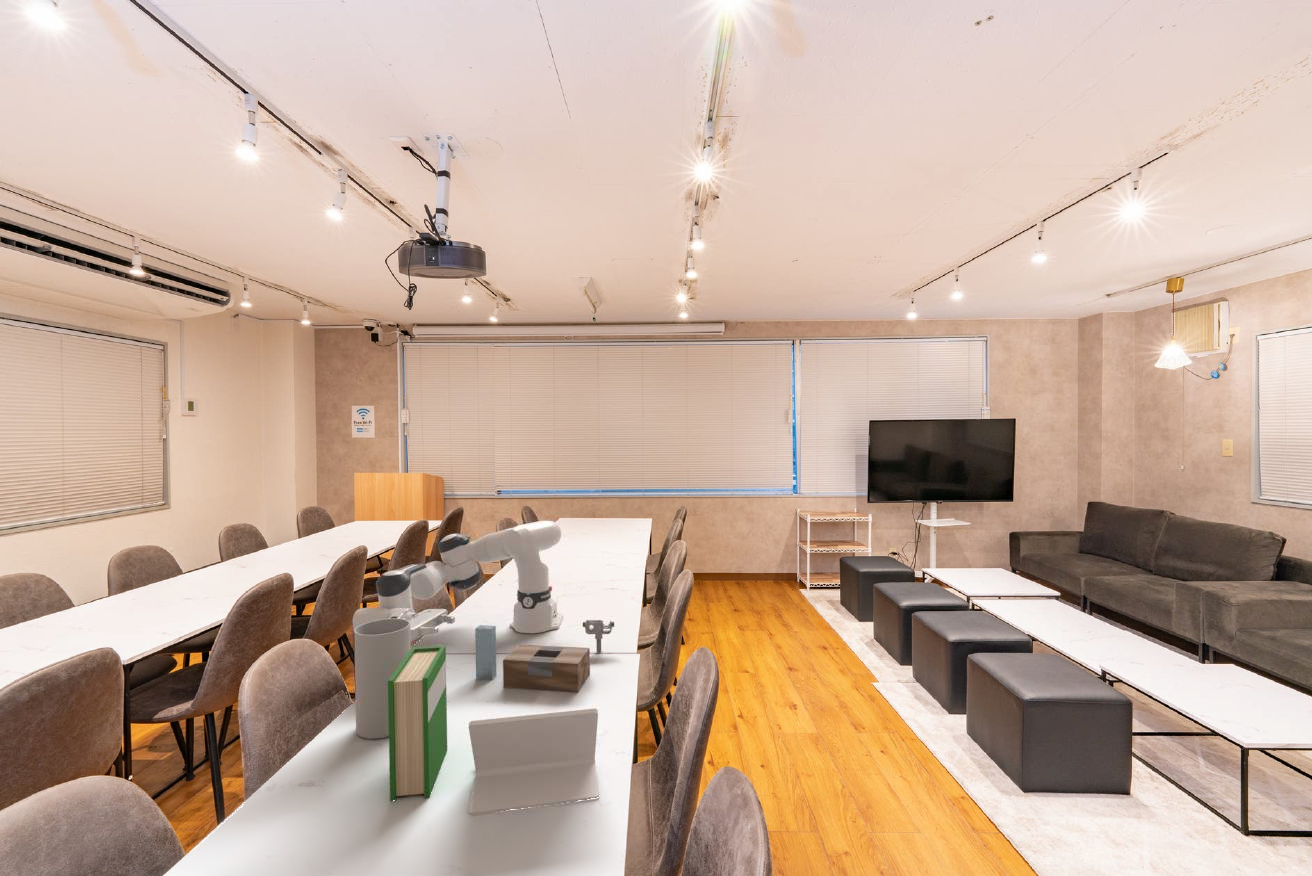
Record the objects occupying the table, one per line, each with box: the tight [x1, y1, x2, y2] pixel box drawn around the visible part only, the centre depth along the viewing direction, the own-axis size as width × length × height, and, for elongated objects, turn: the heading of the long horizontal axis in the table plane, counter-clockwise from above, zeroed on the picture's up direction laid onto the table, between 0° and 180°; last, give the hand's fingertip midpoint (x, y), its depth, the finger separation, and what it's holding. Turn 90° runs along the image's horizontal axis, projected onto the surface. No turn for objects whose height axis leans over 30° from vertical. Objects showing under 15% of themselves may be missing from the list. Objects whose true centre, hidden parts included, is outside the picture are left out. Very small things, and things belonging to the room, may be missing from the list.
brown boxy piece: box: [502, 644, 591, 693], centre depth 170 cm, size 12×22×8 cm, turn 81°
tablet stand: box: [468, 708, 601, 817], centre depth 121 cm, size 18×25×17 cm
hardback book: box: [388, 645, 448, 802], centre depth 124 cm, size 18×7×24 cm, turn 9°
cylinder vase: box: [353, 618, 412, 740], centre depth 144 cm, size 12×12×25 cm
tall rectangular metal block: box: [474, 624, 497, 681], centre depth 173 cm, size 3×5×15 cm, turn 81°
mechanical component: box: [582, 619, 615, 654], centre depth 192 cm, size 3×10×10 cm, turn 89°
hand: (445, 625), depth 174 cm, fingers open, 8 cm apart
